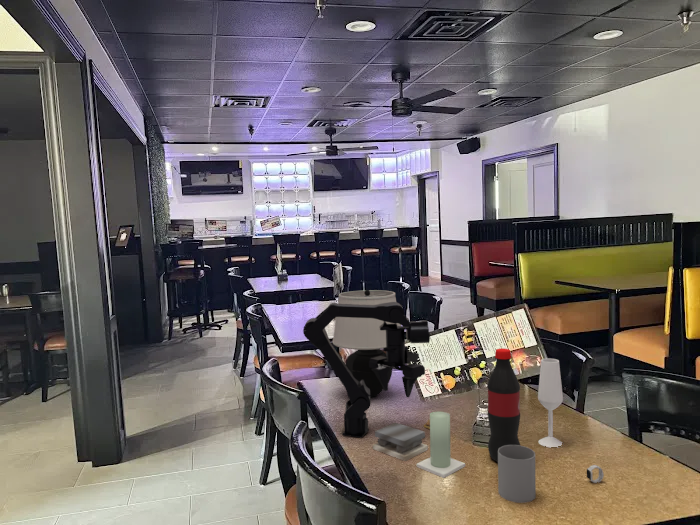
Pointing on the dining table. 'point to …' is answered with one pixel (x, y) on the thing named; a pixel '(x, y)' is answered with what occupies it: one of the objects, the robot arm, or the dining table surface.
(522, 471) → the cup
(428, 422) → the shard
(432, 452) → the roller
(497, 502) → the dining table surface
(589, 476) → the smartwatch
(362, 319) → the table lamp
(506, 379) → the cola bottle
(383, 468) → the dining table surface
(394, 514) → the dining table surface
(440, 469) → the pad
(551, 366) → the champagne flute
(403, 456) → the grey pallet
